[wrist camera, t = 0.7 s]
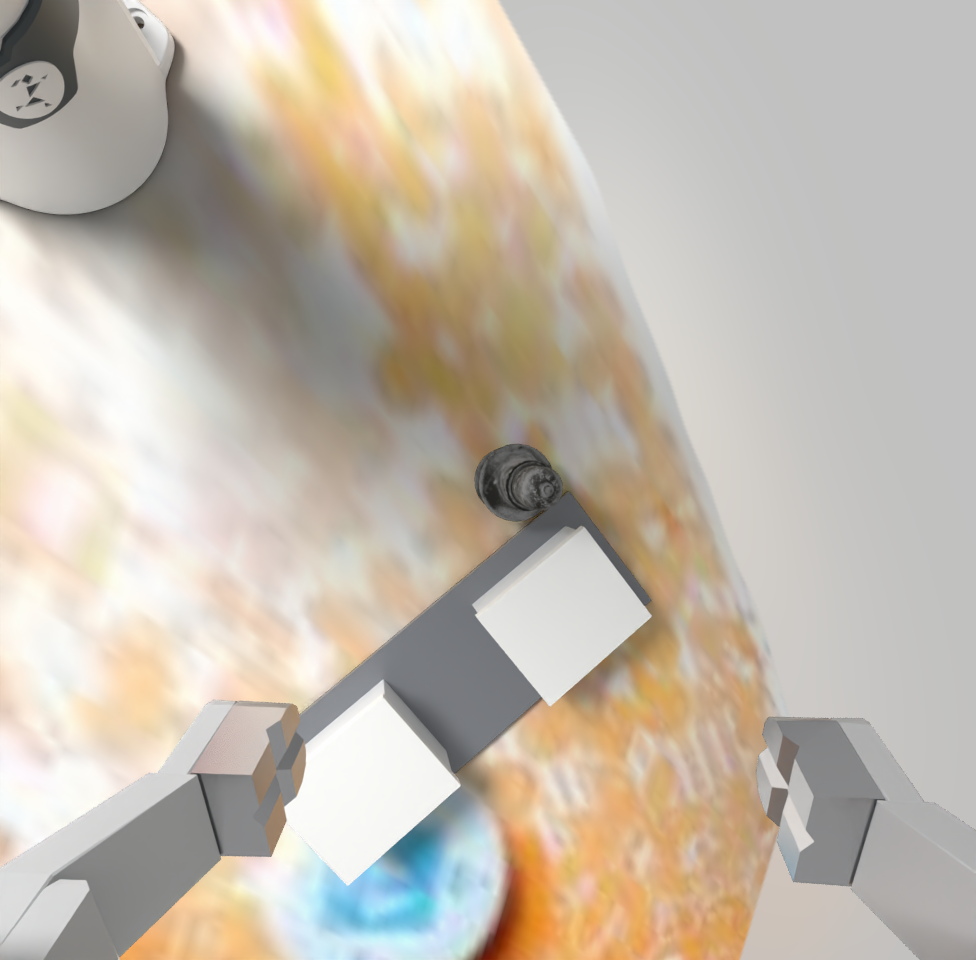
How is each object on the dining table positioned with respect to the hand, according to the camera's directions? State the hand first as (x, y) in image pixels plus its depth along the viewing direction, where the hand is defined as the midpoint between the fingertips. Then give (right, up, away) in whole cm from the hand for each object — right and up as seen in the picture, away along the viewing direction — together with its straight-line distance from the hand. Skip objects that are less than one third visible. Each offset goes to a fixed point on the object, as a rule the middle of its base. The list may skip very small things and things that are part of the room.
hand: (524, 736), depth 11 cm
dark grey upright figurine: (+1, +4, +39) cm, 39 cm away
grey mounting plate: (-3, -11, +39) cm, 40 cm away
